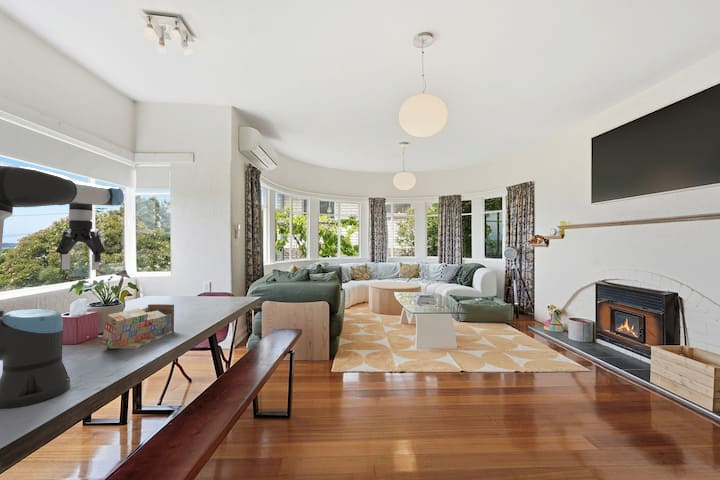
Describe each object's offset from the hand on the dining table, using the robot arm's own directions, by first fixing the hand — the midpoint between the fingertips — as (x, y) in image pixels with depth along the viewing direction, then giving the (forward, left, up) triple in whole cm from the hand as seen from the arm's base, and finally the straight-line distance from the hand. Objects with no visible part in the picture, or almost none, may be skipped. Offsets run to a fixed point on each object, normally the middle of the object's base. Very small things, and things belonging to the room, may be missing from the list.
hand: (80, 269), depth 135 cm
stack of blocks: (0, -24, -29) cm, 38 cm away
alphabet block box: (+9, -25, -31) cm, 40 cm away
